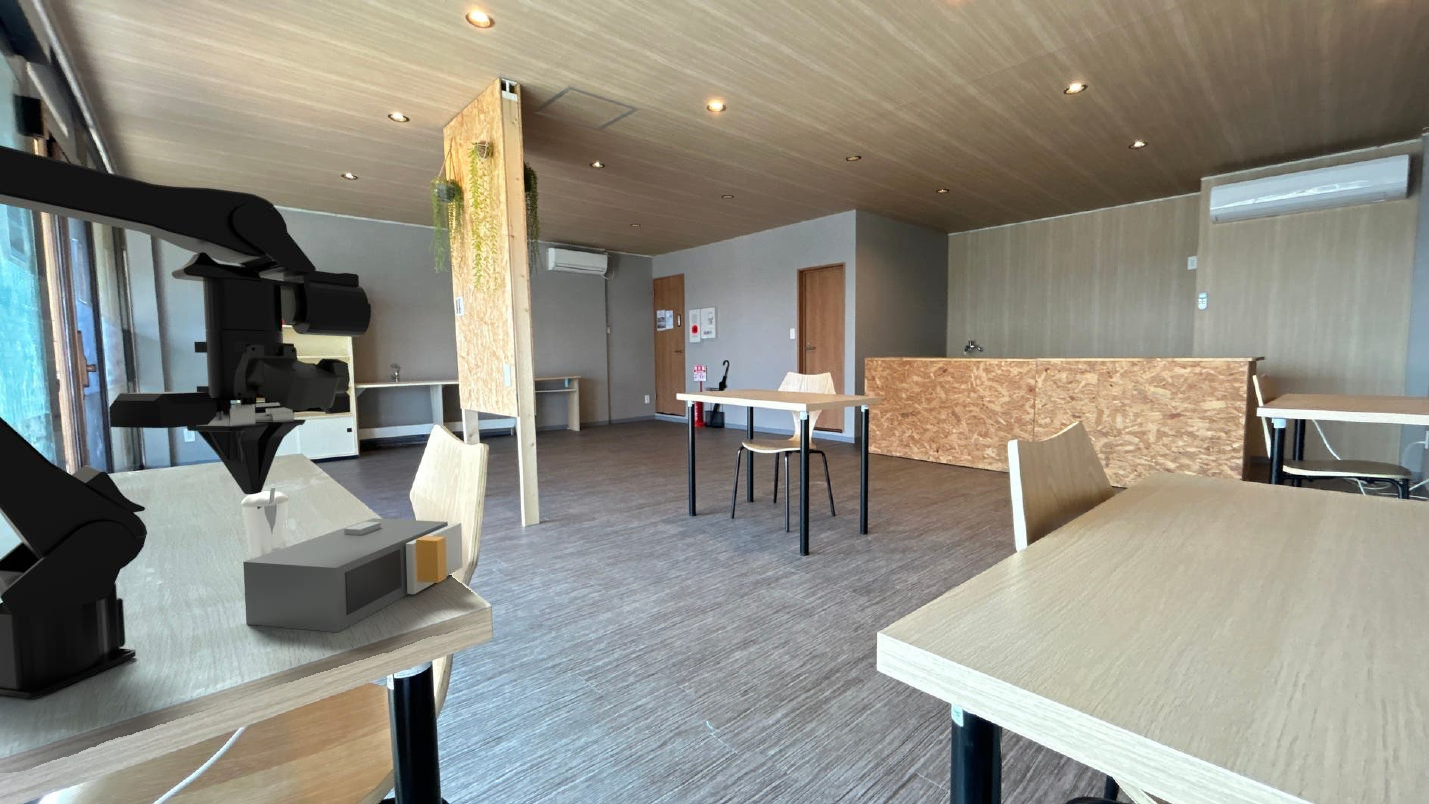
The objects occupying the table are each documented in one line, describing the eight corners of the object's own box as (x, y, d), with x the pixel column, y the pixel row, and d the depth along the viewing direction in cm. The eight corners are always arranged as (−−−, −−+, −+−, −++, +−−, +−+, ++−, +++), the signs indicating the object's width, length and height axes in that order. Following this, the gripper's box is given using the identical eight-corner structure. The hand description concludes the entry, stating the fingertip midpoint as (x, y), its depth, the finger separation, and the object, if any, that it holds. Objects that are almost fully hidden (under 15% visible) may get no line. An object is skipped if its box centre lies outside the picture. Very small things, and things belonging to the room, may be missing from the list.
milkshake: (252, 576, 66) (248, 491, 66) (239, 566, 70) (235, 485, 69) (298, 565, 70) (295, 485, 69) (284, 557, 73) (280, 480, 73)
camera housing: (339, 632, 52) (336, 561, 52) (246, 624, 54) (243, 555, 53) (456, 568, 69) (454, 514, 69) (382, 563, 71) (380, 510, 70)
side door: (435, 595, 60) (433, 542, 59) (407, 593, 60) (405, 540, 60) (481, 568, 68) (480, 521, 68) (456, 566, 68) (455, 520, 68)
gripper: (213, 322, 44) (223, 522, 45) (391, 336, 62) (396, 478, 63) (98, 324, 46) (110, 516, 47) (304, 338, 64) (309, 475, 65)
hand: (252, 493), depth 55 cm, fingers closed
